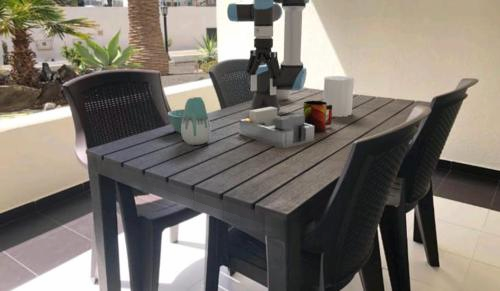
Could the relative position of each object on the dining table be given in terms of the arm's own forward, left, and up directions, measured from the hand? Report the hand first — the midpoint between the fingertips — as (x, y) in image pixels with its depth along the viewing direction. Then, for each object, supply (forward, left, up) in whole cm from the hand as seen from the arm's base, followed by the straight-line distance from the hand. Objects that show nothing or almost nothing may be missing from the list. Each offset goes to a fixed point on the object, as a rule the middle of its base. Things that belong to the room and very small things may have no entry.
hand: (263, 92), depth 167 cm
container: (-4, +53, -17) cm, 56 cm away
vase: (-6, -29, -17) cm, 34 cm away
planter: (-51, +55, -17) cm, 77 cm away
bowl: (-23, -23, -17) cm, 37 cm away
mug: (+10, +22, -17) cm, 30 cm away
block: (0, 0, -16) cm, 16 cm away
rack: (+8, 0, -17) cm, 19 cm away
